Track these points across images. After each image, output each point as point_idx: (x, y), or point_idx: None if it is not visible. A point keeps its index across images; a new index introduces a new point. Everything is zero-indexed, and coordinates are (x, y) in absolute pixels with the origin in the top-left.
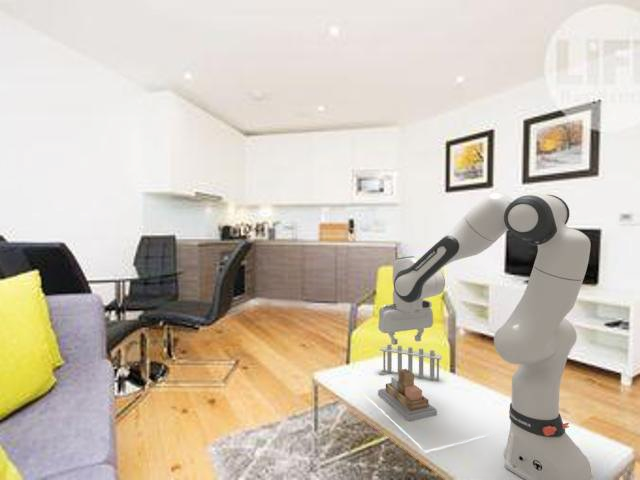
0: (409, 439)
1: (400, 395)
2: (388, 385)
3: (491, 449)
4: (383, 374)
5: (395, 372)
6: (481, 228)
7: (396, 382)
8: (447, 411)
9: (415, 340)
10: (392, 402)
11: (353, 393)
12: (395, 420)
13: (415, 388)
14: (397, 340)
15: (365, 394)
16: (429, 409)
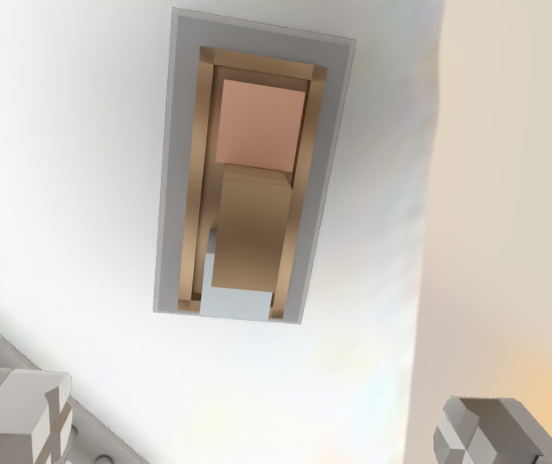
0: None
1: (307, 175)
2: (281, 299)
3: None
4: (138, 460)
5: (73, 456)
6: None
7: None
8: (79, 34)
9: (69, 417)
10: (325, 195)
11: (363, 373)
12: (372, 103)
13: (248, 120)
14: (491, 439)
15: (326, 347)
16: (216, 23)
